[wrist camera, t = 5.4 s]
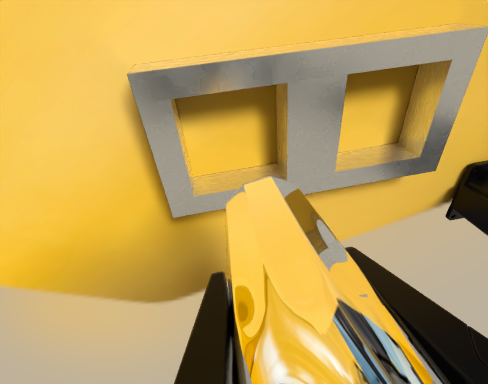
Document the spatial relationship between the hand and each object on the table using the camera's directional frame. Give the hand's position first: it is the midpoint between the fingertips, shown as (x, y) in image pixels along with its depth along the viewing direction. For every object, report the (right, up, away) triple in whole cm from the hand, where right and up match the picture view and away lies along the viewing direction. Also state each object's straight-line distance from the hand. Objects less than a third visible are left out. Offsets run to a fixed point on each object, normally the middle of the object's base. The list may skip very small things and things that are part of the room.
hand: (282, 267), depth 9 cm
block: (+3, +8, +10) cm, 13 cm away
